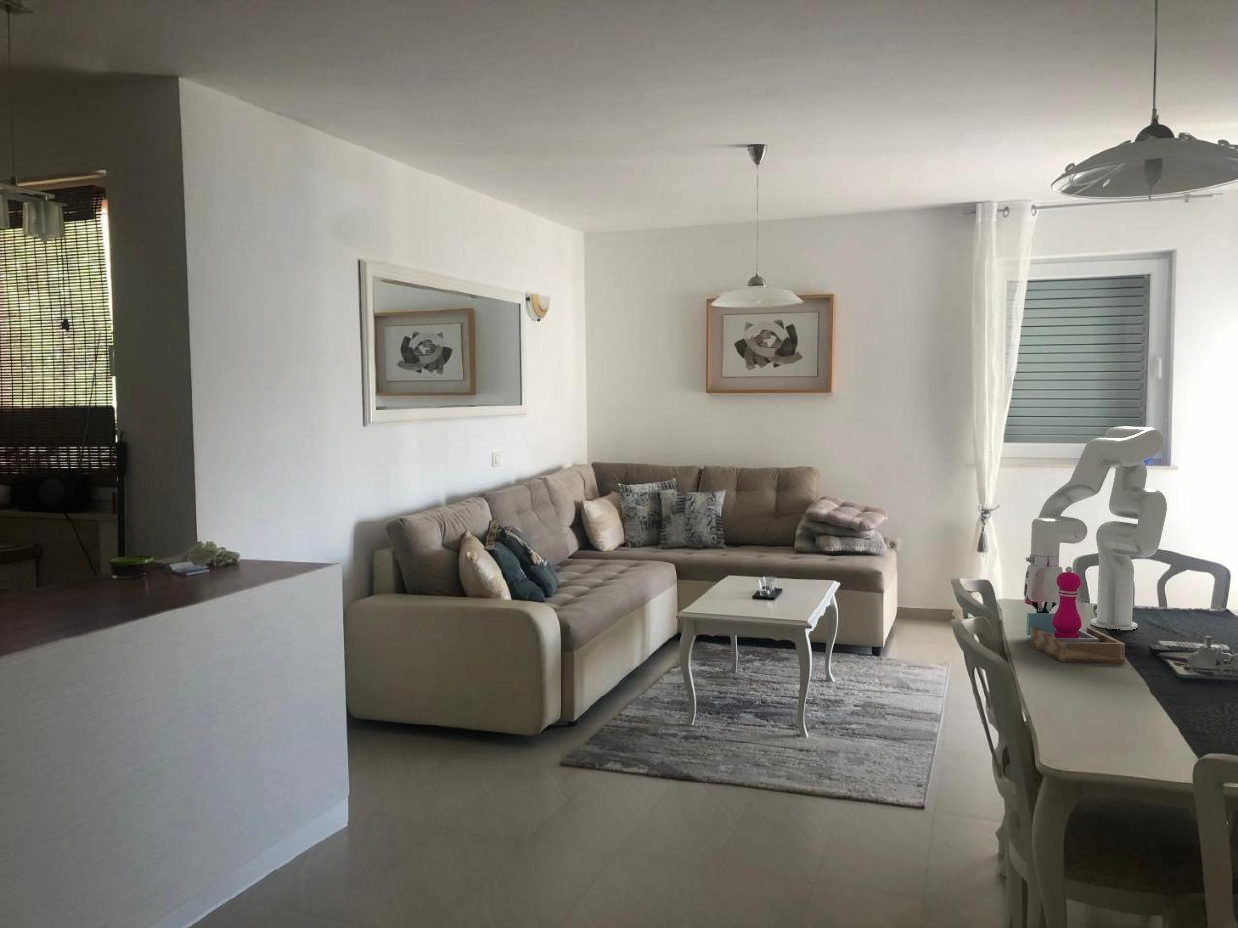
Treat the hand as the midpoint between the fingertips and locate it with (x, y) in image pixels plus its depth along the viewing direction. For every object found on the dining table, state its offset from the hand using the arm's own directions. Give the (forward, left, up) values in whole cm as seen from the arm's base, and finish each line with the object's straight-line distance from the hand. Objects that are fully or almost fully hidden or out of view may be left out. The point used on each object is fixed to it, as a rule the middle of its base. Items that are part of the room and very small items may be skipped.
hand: (1042, 624), depth 284 cm
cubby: (+22, 0, -3) cm, 23 cm away
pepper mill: (+15, 0, -1) cm, 15 cm away
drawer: (+13, 0, -2) cm, 13 cm away
